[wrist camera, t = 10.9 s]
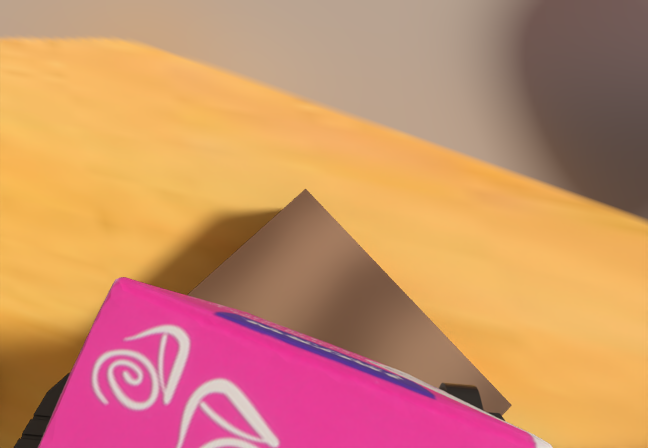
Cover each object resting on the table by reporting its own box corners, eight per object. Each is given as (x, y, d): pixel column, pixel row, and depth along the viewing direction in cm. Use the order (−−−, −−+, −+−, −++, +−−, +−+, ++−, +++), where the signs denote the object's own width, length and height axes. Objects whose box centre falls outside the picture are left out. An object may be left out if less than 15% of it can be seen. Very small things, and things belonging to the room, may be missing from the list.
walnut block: (479, 390, 24) (511, 405, 20) (291, 584, 22) (285, 643, 18) (307, 209, 25) (305, 188, 21) (120, 377, 24) (80, 390, 20)
